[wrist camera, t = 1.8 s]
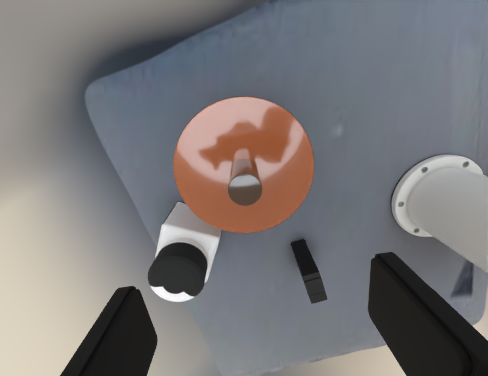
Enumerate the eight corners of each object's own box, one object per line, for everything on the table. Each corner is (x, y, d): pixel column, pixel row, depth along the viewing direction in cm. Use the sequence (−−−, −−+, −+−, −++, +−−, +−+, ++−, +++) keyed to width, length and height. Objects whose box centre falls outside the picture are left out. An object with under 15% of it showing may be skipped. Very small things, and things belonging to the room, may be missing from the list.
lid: (307, 86, 21) (334, 79, 15) (313, 219, 25) (335, 253, 19) (161, 108, 21) (130, 109, 15) (192, 234, 26) (178, 273, 20)
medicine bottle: (177, 200, 34) (145, 248, 22) (224, 212, 34) (216, 265, 23) (168, 240, 36) (135, 302, 25) (212, 251, 37) (200, 316, 25)
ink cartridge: (311, 262, 38) (329, 301, 30) (298, 266, 38) (312, 306, 30) (304, 237, 36) (320, 272, 29) (290, 242, 36) (302, 277, 29)
